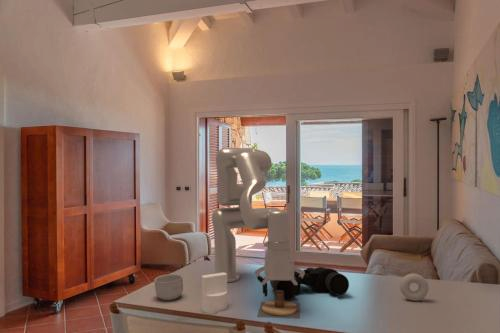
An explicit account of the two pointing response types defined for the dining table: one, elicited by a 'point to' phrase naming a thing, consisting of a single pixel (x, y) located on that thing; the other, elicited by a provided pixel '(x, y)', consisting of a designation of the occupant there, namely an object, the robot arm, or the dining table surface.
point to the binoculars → (315, 282)
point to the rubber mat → (296, 315)
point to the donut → (414, 294)
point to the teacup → (169, 286)
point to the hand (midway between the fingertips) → (279, 295)
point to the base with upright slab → (214, 292)
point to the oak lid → (279, 306)
